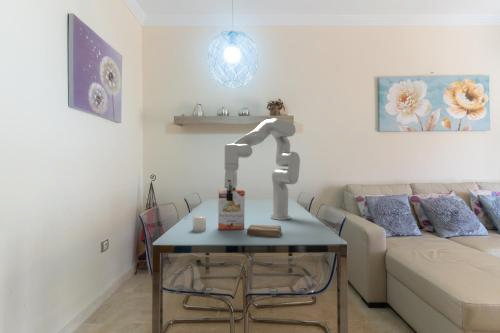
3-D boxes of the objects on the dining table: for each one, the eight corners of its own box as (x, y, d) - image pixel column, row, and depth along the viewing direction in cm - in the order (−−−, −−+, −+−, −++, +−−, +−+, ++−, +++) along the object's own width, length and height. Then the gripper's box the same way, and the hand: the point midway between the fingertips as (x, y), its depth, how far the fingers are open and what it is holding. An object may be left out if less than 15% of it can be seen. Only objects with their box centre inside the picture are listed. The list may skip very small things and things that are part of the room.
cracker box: (218, 230, 159) (218, 190, 159) (218, 227, 165) (218, 189, 165) (244, 229, 161) (244, 190, 161) (243, 227, 167) (243, 189, 167)
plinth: (250, 230, 160) (250, 224, 160) (280, 231, 157) (281, 225, 157) (246, 235, 149) (246, 229, 149) (279, 237, 146) (279, 230, 146)
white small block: (195, 228, 164) (195, 215, 164) (207, 228, 163) (207, 215, 163) (190, 231, 157) (190, 217, 157) (203, 231, 156) (203, 218, 156)
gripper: (228, 166, 171) (228, 197, 172) (220, 167, 154) (220, 202, 155) (241, 166, 170) (241, 197, 171) (234, 167, 153) (234, 202, 154)
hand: (231, 199), depth 163 cm, fingers closed on cracker box, 7 cm apart
